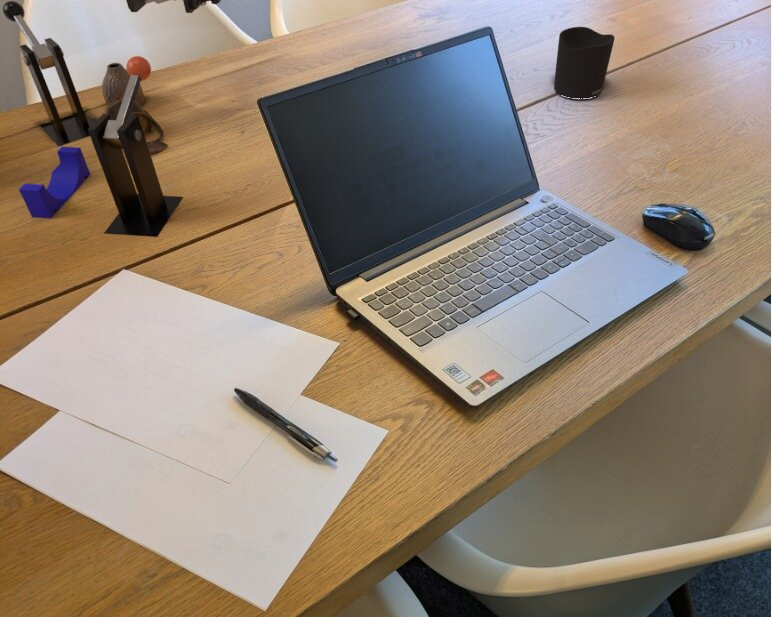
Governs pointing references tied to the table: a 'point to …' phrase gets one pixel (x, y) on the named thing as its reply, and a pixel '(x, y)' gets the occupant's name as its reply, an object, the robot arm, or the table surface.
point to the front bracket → (135, 210)
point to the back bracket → (57, 128)
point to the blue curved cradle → (57, 184)
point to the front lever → (127, 99)
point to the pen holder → (582, 62)
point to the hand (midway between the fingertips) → (158, 5)
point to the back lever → (29, 34)
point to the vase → (118, 84)
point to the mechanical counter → (145, 122)
